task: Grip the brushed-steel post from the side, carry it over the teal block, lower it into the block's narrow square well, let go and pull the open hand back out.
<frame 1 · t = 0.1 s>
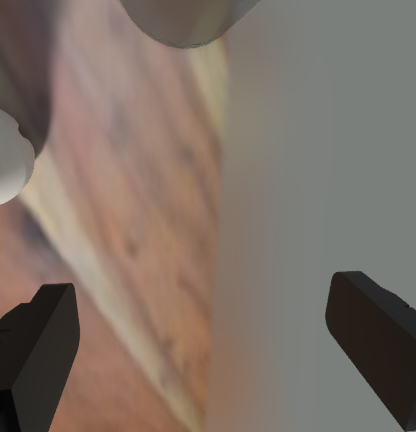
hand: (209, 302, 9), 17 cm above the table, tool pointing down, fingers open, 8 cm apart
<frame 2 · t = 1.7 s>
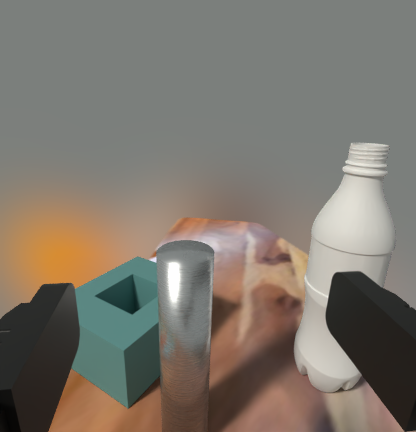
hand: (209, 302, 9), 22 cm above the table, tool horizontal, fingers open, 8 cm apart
water bottle: (323, 374, 34), on the table
well block: (135, 340, 38), on the table
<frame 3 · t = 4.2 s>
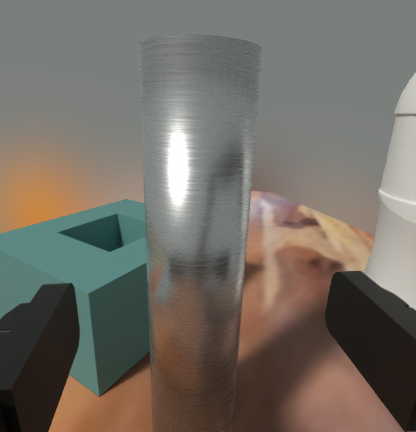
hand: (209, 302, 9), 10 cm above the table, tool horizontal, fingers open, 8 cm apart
water bottle: (398, 350, 23), on the table
well block: (119, 304, 26), on the table
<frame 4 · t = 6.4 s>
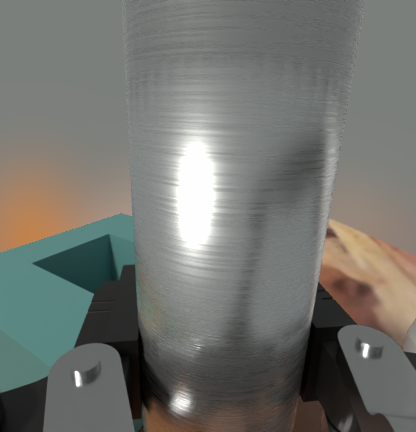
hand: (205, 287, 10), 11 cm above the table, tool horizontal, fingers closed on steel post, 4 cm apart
well block: (111, 345, 22), on the table
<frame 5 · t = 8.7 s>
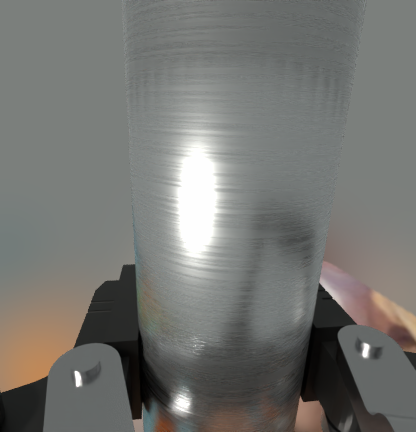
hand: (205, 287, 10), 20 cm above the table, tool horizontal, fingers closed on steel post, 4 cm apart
when the fingers open (12 cm above the table, at t = 11.3 s): steel post drops 1 cm, resting on well block.
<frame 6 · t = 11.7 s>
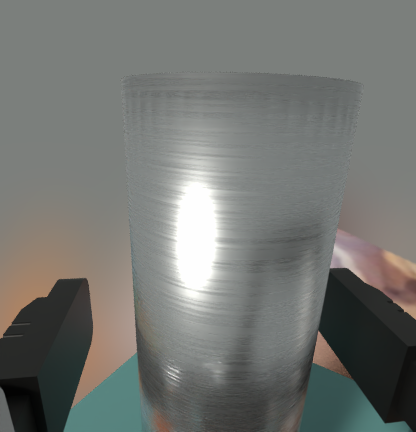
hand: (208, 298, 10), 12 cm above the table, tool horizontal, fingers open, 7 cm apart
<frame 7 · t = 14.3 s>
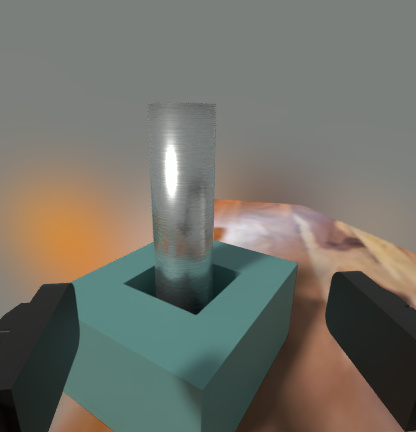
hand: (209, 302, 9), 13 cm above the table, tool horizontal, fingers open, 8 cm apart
steel post: (185, 352, 23), point 1 cm above the table, touching well block
well block: (184, 356, 24), on the table
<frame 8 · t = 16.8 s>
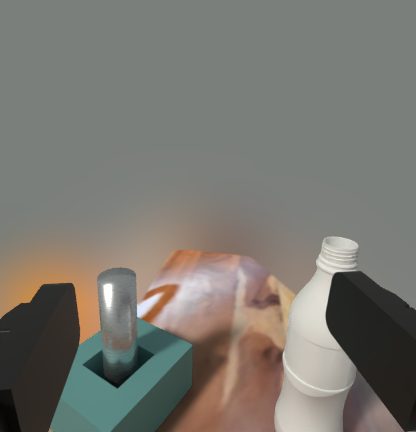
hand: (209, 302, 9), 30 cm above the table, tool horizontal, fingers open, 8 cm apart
steel post: (122, 400, 39), point 1 cm above the table, touching well block
well block: (122, 402, 39), on the table
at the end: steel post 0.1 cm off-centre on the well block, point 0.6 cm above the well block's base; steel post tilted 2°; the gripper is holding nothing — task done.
